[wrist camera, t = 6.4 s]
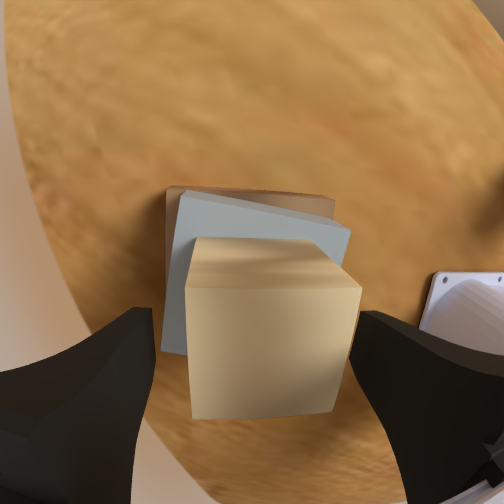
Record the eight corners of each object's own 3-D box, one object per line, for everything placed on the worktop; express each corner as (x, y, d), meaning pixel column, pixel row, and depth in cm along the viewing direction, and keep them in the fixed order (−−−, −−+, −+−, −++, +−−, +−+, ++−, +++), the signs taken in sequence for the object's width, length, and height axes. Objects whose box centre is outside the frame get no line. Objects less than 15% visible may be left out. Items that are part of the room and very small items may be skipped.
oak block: (310, 239, 13) (362, 287, 8) (298, 335, 14) (332, 411, 9) (196, 236, 12) (184, 287, 7) (197, 336, 13) (192, 419, 9)
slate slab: (330, 218, 15) (351, 230, 13) (294, 341, 17) (306, 368, 15) (186, 189, 14) (180, 196, 12) (167, 324, 16) (160, 351, 13)
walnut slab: (319, 194, 17) (335, 200, 15) (301, 322, 19) (312, 343, 17) (173, 184, 16) (166, 189, 14) (172, 319, 18) (167, 341, 16)
